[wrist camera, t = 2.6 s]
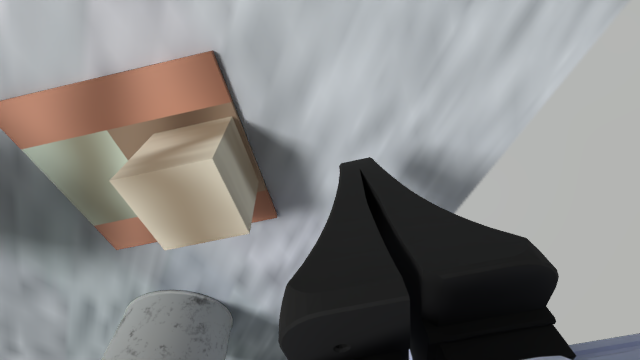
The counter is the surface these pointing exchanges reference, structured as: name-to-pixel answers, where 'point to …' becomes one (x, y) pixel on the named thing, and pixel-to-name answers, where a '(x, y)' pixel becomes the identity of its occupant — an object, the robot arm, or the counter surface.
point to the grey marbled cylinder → (172, 328)
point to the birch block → (191, 184)
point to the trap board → (119, 134)
